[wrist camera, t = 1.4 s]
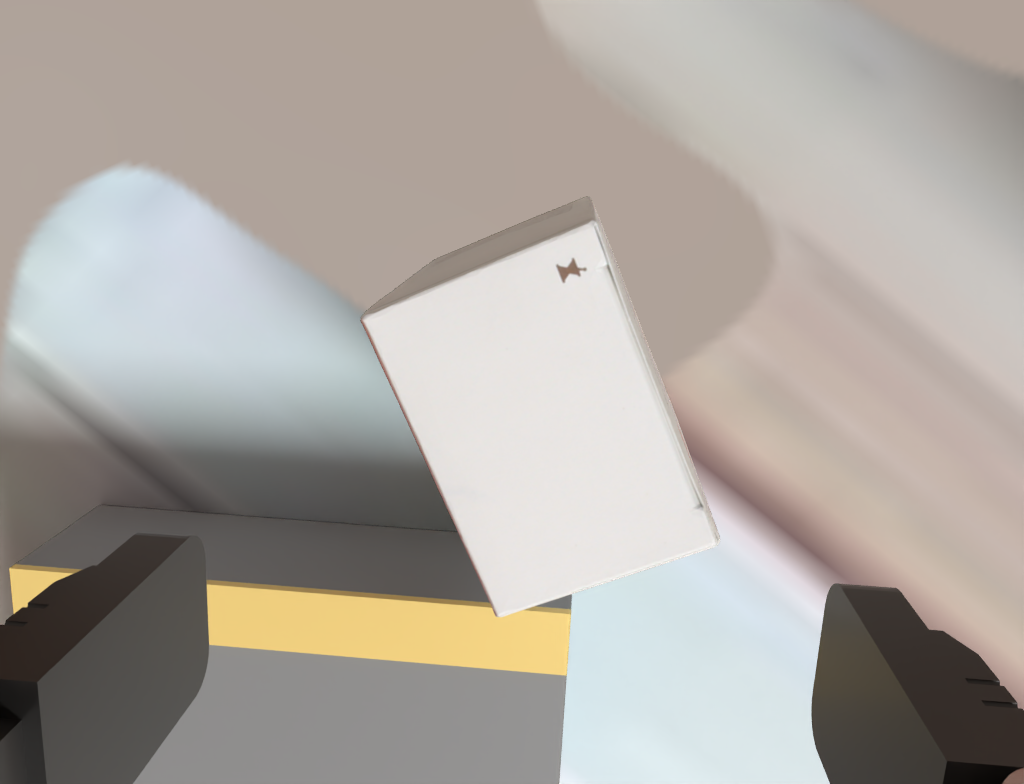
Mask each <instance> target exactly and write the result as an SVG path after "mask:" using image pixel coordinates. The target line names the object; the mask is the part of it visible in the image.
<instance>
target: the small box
mask: <svg viewBox="0 0 1024 784" xmlns="http://www.w3.org/2000/svg"><path fill="white" fill-rule="evenodd" d="M360 321H361V323H362V324H363V326H364V328H365V331H366V333H367V335H368V337H369V339H370V342H371V344H372V346H373V348H374V350H375V353H376V355H377V357H378V359H379V361H380V364H381V366H382V368H383V370H384V372H385V375H386V377H387V379H388V381H389V383H390V385H391V387H392V390H393V392H394V394H395V396H396V398H397V400H398V402H399V405H400V407H401V409H402V411H403V414H404V416H405V418H406V420H407V422H408V424H409V427H410V429H411V431H412V433H413V435H414V438H415V440H416V442H417V444H418V446H419V449H420V451H421V453H422V455H423V457H424V459H425V462H426V464H427V466H428V468H429V470H430V473H431V475H432V477H433V479H434V481H435V483H436V486H437V488H438V490H439V492H440V494H441V497H442V499H443V501H444V503H445V505H446V507H447V510H448V512H449V514H450V516H451V518H452V520H453V522H454V525H455V527H456V529H457V531H458V534H459V536H460V538H461V540H462V543H463V545H464V547H465V549H466V552H467V554H468V556H469V558H470V560H471V563H472V565H473V567H474V569H475V571H476V573H477V576H478V578H479V580H480V582H481V584H482V586H483V589H484V591H485V593H486V595H487V597H488V600H489V602H490V604H491V606H492V609H493V612H494V614H495V616H496V617H504V616H507V615H510V614H512V613H515V612H519V611H522V610H525V609H528V608H531V607H534V606H537V605H540V604H543V603H546V602H549V601H552V600H555V599H558V598H561V597H564V596H568V595H571V594H574V593H577V592H580V591H583V590H586V589H589V588H592V587H595V586H598V585H601V584H604V583H607V582H610V581H613V580H616V579H619V578H622V577H625V576H629V575H632V574H635V573H638V572H641V571H644V570H647V569H650V568H653V567H656V566H659V565H662V564H665V563H668V562H671V561H674V560H677V559H680V558H683V557H686V556H689V555H692V554H695V553H698V552H701V551H704V550H708V549H711V548H714V547H716V546H717V545H718V544H719V542H720V536H719V533H718V530H717V528H716V525H715V522H714V519H713V517H712V514H711V511H710V508H709V506H708V503H707V500H706V497H705V495H704V492H703V489H702V486H701V484H700V481H699V478H698V475H697V473H696V470H695V467H694V464H693V462H692V459H691V456H690V454H689V451H688V448H687V445H686V442H685V439H684V437H683V434H682V431H681V428H680V425H679V422H678V420H677V417H676V415H675V412H674V409H673V407H672V404H671V402H670V399H669V396H668V394H667V391H666V389H665V386H664V384H663V381H662V379H661V376H660V374H659V371H658V369H657V366H656V364H655V361H654V359H653V356H652V354H651V351H650V348H649V347H648V343H647V341H646V338H645V336H644V333H643V331H642V328H641V325H640V323H639V320H638V318H637V315H636V312H635V310H634V307H633V304H632V302H631V299H630V297H629V294H628V291H627V289H626V286H625V283H624V281H623V278H622V275H621V273H620V270H619V267H618V265H617V262H616V260H615V257H614V254H613V252H612V249H611V247H610V244H609V241H608V239H607V236H606V234H605V231H604V229H603V226H602V224H601V221H600V219H599V216H598V214H597V211H596V208H595V206H594V204H593V202H592V200H591V198H590V197H588V196H586V197H583V198H581V199H579V200H576V201H574V202H572V203H569V204H567V205H564V206H562V207H559V208H557V209H554V210H552V211H549V212H546V213H544V214H541V215H539V216H537V217H534V218H532V219H529V220H527V221H524V222H522V223H520V224H517V225H515V226H512V227H510V228H508V229H505V230H503V231H501V232H498V233H496V234H494V235H491V236H489V237H487V238H484V239H482V240H479V241H477V242H475V243H472V244H470V245H467V246H465V247H463V248H460V249H458V250H456V251H453V252H451V253H448V254H446V255H444V256H441V257H439V258H437V259H434V260H433V261H432V262H430V263H429V264H428V265H426V266H425V267H423V268H422V269H421V270H419V271H418V272H417V273H415V274H414V275H413V276H412V277H410V278H409V279H407V280H406V281H405V282H403V283H402V284H401V285H400V286H398V287H397V288H395V289H394V290H393V291H392V292H390V293H389V294H387V295H386V296H384V297H383V298H382V299H380V300H379V301H378V302H377V303H375V304H374V305H373V306H371V307H370V308H369V309H368V310H367V311H366V312H365V313H364V314H363V315H362V316H361V320H360Z"/></svg>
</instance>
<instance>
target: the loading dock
mask: <svg viewBox="0 0 1024 784" xmlns="http://www.w3.org/2000/svg"><path fill="white" fill-rule="evenodd" d="M138 532H152V533H166V534H180V535H194V536H198V537H199V538H200V539H201V541H202V543H203V546H204V550H205V558H206V581H207V605H208V630H209V657H208V664H207V669H206V673H205V677H204V680H203V683H202V686H201V688H200V690H199V692H198V694H197V696H196V697H195V699H194V700H193V702H192V703H191V704H190V706H189V707H188V708H187V710H186V711H185V713H184V714H183V715H182V717H181V718H180V720H179V721H178V722H177V724H176V725H175V726H174V728H173V729H172V731H171V732H170V733H169V735H168V736H167V737H166V739H165V740H164V742H163V743H162V744H161V746H160V747H159V749H158V750H157V751H156V753H155V754H154V755H153V757H152V758H151V760H150V761H149V762H148V764H147V765H146V766H145V768H144V769H143V771H142V772H141V773H140V775H139V776H138V778H137V779H136V780H135V782H134V783H133V784H559V778H560V764H561V749H562V734H563V720H564V705H565V691H566V676H567V664H568V649H569V634H570V620H571V599H572V594H571V595H568V596H564V597H561V598H558V599H555V600H552V601H549V602H546V603H543V604H540V605H537V606H534V607H531V608H528V609H525V610H522V611H519V612H515V613H512V614H510V615H507V616H504V617H496V616H495V614H494V612H493V609H492V606H491V604H490V602H489V600H488V597H487V595H486V593H485V591H484V589H483V586H482V584H481V582H480V580H479V578H478V576H477V573H476V571H475V569H474V567H473V565H472V563H471V560H470V558H469V556H468V554H467V552H466V549H465V547H464V545H463V543H462V540H461V538H460V536H459V534H458V532H449V531H436V530H422V529H409V528H396V527H383V526H370V525H357V524H344V523H330V522H317V521H304V520H291V519H278V518H265V517H252V516H239V515H225V514H212V513H199V512H186V511H173V510H160V509H147V508H133V507H120V506H107V505H99V506H98V507H96V508H95V509H93V510H92V511H90V512H89V513H88V514H86V515H85V516H83V517H82V518H80V519H79V520H78V521H76V522H75V523H73V524H72V525H70V526H69V527H68V528H66V529H65V530H63V531H62V532H60V533H59V534H58V535H56V536H55V537H53V538H52V539H50V540H49V541H48V542H46V543H45V544H43V545H42V546H40V547H39V548H38V549H36V550H35V551H33V552H32V553H30V554H29V555H28V556H26V557H25V558H23V559H22V560H20V561H19V562H18V563H16V564H15V565H13V566H12V567H10V568H9V571H10V581H11V592H12V602H13V612H14V614H15V613H16V612H17V611H18V610H20V609H21V608H22V607H27V606H28V602H30V601H31V600H32V599H33V598H35V597H36V596H37V595H38V594H40V593H41V592H42V591H44V590H45V589H46V588H47V587H49V586H50V585H51V584H52V583H54V582H55V581H58V580H60V579H62V578H65V577H67V576H69V575H71V574H74V573H76V572H78V571H81V570H83V569H85V568H87V567H90V566H92V565H96V566H97V565H98V564H99V563H100V562H102V561H103V560H104V559H105V558H106V557H108V556H109V555H110V554H111V553H113V552H114V551H115V550H116V549H117V548H119V547H120V546H121V545H122V544H123V543H125V542H126V541H127V540H128V539H129V538H131V537H132V536H133V535H134V534H136V533H138Z"/></svg>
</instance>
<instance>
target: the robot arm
mask: <svg viewBox="0 0 1024 784" xmlns="http://www.w3.org/2000/svg"><path fill="white" fill-rule="evenodd" d="M208 657H209V630H208V605H207V581H206V558H205V550H204V546H203V543H202V541H201V539H200V538H199V537H198V536H194V535H180V534H166V533H152V532H138V533H136V534H134V535H133V536H132V537H131V538H129V539H128V540H127V541H126V542H125V543H123V544H122V545H121V546H120V547H119V548H117V549H116V550H115V551H114V552H113V553H111V554H110V555H109V556H108V557H106V558H105V559H104V560H103V561H102V562H100V563H99V564H98V565H97V566H96V565H92V566H90V567H87V568H85V569H83V570H81V571H78V572H76V573H74V574H71V575H69V576H67V577H65V578H62V579H60V580H58V581H55V582H54V583H52V584H51V585H50V586H49V587H47V588H46V589H45V590H44V591H42V592H41V593H40V594H38V595H37V596H36V597H35V598H33V599H32V600H31V601H30V602H28V606H27V607H22V608H21V609H20V610H18V611H17V612H16V613H15V614H13V615H12V616H11V617H9V618H8V619H7V620H6V623H5V625H0V784H133V783H134V782H135V780H136V779H137V778H138V776H139V775H140V773H141V772H142V771H143V769H144V768H145V766H146V765H147V764H148V762H149V761H150V760H151V758H152V757H153V755H154V754H155V753H156V751H157V750H158V749H159V747H160V746H161V744H162V743H163V742H164V740H165V739H166V737H167V736H168V735H169V733H170V732H171V731H172V729H173V728H174V726H175V725H176V724H177V722H178V721H179V720H180V718H181V717H182V715H183V714H184V713H185V711H186V710H187V708H188V707H189V706H190V704H191V703H192V702H193V700H194V699H195V697H196V696H197V694H198V692H199V690H200V688H201V686H202V683H203V680H204V677H205V673H206V669H207V664H208ZM812 729H813V736H814V741H815V745H816V749H817V752H818V754H819V757H820V759H821V762H822V764H823V767H824V769H825V772H826V774H827V777H828V779H829V782H830V784H1024V710H1023V709H1019V708H1018V707H1017V702H1016V701H1015V699H1014V698H1013V697H1012V696H1011V694H1010V693H1009V692H1008V691H1007V689H1006V688H1005V687H1004V686H1000V681H999V679H998V678H997V677H996V676H995V674H994V673H993V672H992V671H991V670H990V668H989V667H988V666H987V665H986V663H985V662H984V661H983V660H982V658H981V657H980V656H979V655H978V654H977V653H975V652H974V651H972V650H971V649H969V648H968V647H966V646H965V645H963V644H962V643H960V642H959V641H957V640H956V639H954V638H953V637H951V636H950V635H948V634H947V633H945V632H944V631H938V630H929V629H928V628H927V627H926V625H925V624H924V623H923V621H922V620H921V619H920V617H919V616H918V615H917V613H916V612H915V610H914V609H913V608H912V606H911V605H910V604H909V602H908V601H907V600H906V598H905V597H904V596H903V594H902V593H901V592H900V591H899V590H898V589H897V588H889V587H875V586H862V585H848V584H833V585H832V586H831V588H830V590H829V592H828V595H827V599H826V604H825V610H824V617H823V624H822V631H821V638H820V645H819V653H818V660H817V667H816V674H815V681H814V688H813V696H812Z"/></svg>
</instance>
